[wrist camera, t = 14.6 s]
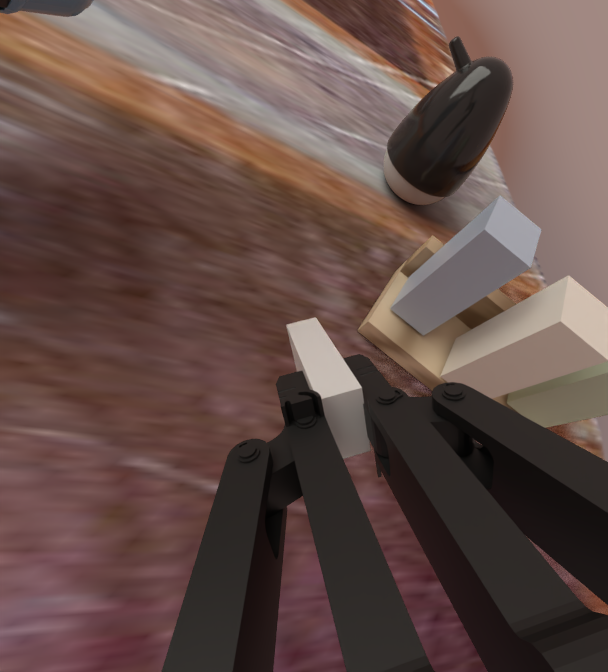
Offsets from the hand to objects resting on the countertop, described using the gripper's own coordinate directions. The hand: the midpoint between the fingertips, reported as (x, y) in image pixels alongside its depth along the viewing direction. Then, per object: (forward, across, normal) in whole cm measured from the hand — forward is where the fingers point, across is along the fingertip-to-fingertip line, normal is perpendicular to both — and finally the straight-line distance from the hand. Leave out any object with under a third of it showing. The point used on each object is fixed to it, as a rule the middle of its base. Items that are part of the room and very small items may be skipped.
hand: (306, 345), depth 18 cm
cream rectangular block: (+10, +15, -12) cm, 21 cm away
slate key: (+14, +13, -6) cm, 20 cm away
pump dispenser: (+31, +20, +3) cm, 37 cm away
